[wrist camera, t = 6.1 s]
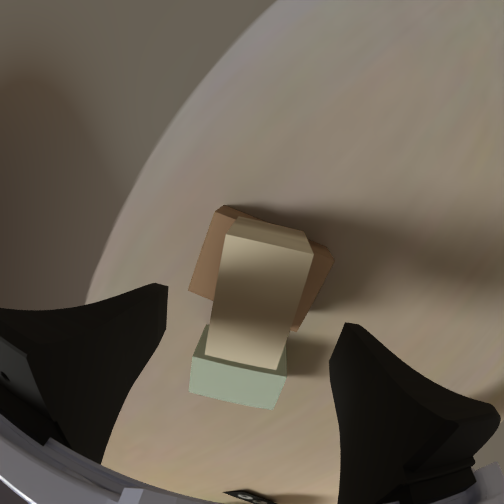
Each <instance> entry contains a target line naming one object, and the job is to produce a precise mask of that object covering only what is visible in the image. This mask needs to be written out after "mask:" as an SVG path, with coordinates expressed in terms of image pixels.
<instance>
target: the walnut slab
mask: <svg viewBox="0 0 504 504" xmlns="http://www.w3.org/2000/svg"><path fill="white" fill-rule="evenodd" d="M238 216H240V217H244V218H249V219H253V220H258V221H262V222H265V221H263V220H260V219H258V218H255V217H253V216H250V215H248V214H245V213H243V212H240V211H238V210H235V209H233V208H230V207H228V206H225V205H223V206H222V207H220V208H219V209H218V210H216V211H215V213H214V215H213V218H212V221H211V224H210V226H209V229H208V232H207V235H206V238H205V241H204V244H203V246H202V249H201V252H200V255H199V258H198V261H197V264H196V267H195V270H194V273H193V276H192V279H191V282H190V285H189V288H188V291H191V292H193V293H195V294H198V295H200V296H203V297H205V298H207V299H210V300H212V301H214V295H215V290H216V284H217V279H218V273H219V268H220V262H221V257H222V251H223V246H224V241H225V236H226V233H227V232H228V230H229V229H230V228H231V226H232V225H233V223H234V222H235V221H236V219H237V218H238ZM266 223H268V222H266ZM307 240H308V242H309V244H310V247H311V249H312V251H313V253H314V256H313V259H312V263H311V266H310V269H309V273H308V276H307V279H306V283H305V286H304V289H303V292H302V295H301V299H300V302H299V305H298V308H297V311H296V314H295V317H294V320H293V323H292V326H291V329H290V330H291V331H294V332H297V331H298V329H299V327H300V325H301V323H302V322H303V320H304V318H305V316H306V315H307V313H308V311H309V309H310V307H311V305H312V304H313V302H314V300H315V298H316V296H317V294H318V292H319V290H320V289H321V287H322V285H323V283H324V281H325V279H326V277H327V275H328V273H329V271H330V269H331V267H332V265H333V263H334V261H335V260H334V259H333V257H332V255H331V253H330V252H329V250H328V249H327V247H325V246H323V245H320V244H318V243H316V242H313V241H311V240H309V239H307Z"/></svg>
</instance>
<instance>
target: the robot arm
mask: <svg viewBox="0 0 504 504" xmlns="http://www.w3.org/2000/svg"><path fill="white" fill-rule="evenodd" d="M167 300H168V286H165V285H161V284H157V283H152V284H148V285H145V286H143V287H140V288H137V289H134V290H132V291H129V292H126V293H124V294H121V295H118V296H115V297H112V298H109V299H105V300H102V301H99V302H96V303H92V304H88V305H83V306H78V307H73V308H64V309H56V310H42V311H41V310H39V311H33V310H30V311H28V310H14V309H4V308H0V480H1V481H2V482H3V483H5V484H6V485H7V486H8V487H9V488H10V489H12V490H13V491H14V492H15V493H16V494H18V495H19V496H20V497H22V498H23V499H24V500H26V501H27V502H28V503H29V504H222V503H217V502H212V501H207V500H202V499H198V498H193V497H189V496H185V495H182V494H178V493H174V492H171V491H167V490H164V489H161V488H158V487H155V486H152V485H149V484H146V483H143V482H140V481H138V480H135V479H132V478H130V477H127V476H125V475H122V474H120V473H118V472H115V471H113V470H111V469H108V468H106V467H104V466H102V465H101V462H102V459H103V455H104V452H105V449H106V446H107V443H108V440H109V438H110V435H111V432H112V429H113V427H114V424H115V422H116V420H117V417H118V415H119V412H120V410H121V408H122V406H123V403H124V401H125V399H126V397H127V395H128V393H129V391H130V389H131V387H132V386H133V384H134V382H135V381H136V379H137V378H138V376H139V375H140V373H141V372H142V370H143V368H144V367H145V365H146V364H147V362H148V361H149V359H150V358H151V356H152V355H153V353H154V352H155V350H156V348H157V347H158V345H159V343H160V341H161V339H162V336H163V334H164V332H165V330H166V320H167ZM329 370H330V383H331V388H332V393H333V398H334V403H335V408H336V413H337V418H338V423H339V431H340V449H341V466H340V485H339V496H338V504H504V475H503V473H502V471H501V469H500V466H499V464H498V462H496V461H495V462H493V463H491V464H488V465H486V466H484V467H482V468H479V469H478V470H476V471H475V469H474V468H471V466H473V465H474V464H475V460H474V458H473V455H474V454H475V453H476V452H477V451H478V450H479V449H480V448H481V447H482V446H483V445H484V444H485V443H486V442H487V441H488V440H489V439H490V438H491V436H492V435H493V434H494V433H495V431H496V430H497V428H498V426H499V424H500V421H501V418H500V415H499V414H498V412H497V411H496V409H495V407H494V406H493V405H491V404H489V403H485V402H481V401H478V400H474V399H471V398H468V397H465V396H462V395H460V394H457V393H455V392H453V391H450V390H448V389H446V388H444V387H442V386H440V385H438V384H436V383H434V382H433V381H431V380H429V379H427V378H426V377H424V376H423V375H421V374H420V373H418V372H417V371H415V370H414V369H412V368H411V367H410V366H408V365H407V364H406V363H404V362H403V361H402V360H401V359H399V358H398V357H397V356H396V355H394V354H393V353H392V352H391V351H390V350H388V349H387V348H386V347H385V346H384V345H383V344H382V343H381V342H379V341H378V340H377V339H376V338H375V337H374V336H373V335H372V334H370V333H369V332H368V331H367V330H366V329H364V328H363V327H362V326H360V325H359V324H353V323H346V322H345V324H344V327H343V329H342V332H341V334H340V337H339V339H338V341H337V344H336V346H335V349H334V351H333V353H332V356H331V358H330V360H329Z"/></svg>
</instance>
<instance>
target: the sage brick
mask: <svg viewBox="0 0 504 504" xmlns="http://www.w3.org/2000/svg"><path fill="white" fill-rule="evenodd" d="M208 331H209V325H207V324H206V326H205V328H204V331H203V333H202V335H201V338H200V340H199V342H198V345H197V347H196V349H195V352H194V354H193V357H192V366H191V375H190V384H189V392H191V393H195V394H199V395H202V396H206V397H210V398H214V399H219V400H223V401H227V402H232V403H237V404H242V405H247V406H252V407H257V408H263V409H269V410H273V409H274V406H275V404H276V402H277V400H278V397H279V395H280V392H281V390H282V388H283V385H284V383H285V380H286V378H287V359H286V343H285V346H284V349H283V352H282V355H281V358H280V360H279V363H278V366H277V369H276V370H273V369H268V368H262V367H257V366H252V365H248V364H243V363H238V362H234V361H229V360H225V359H221V358H217V357H213V356H209V355H205V349H206V343H207V337H208Z"/></svg>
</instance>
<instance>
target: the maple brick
mask: <svg viewBox="0 0 504 504" xmlns="http://www.w3.org/2000/svg"><path fill="white" fill-rule="evenodd" d="M313 256H314V253H313V251H312V249H311V247H310V244H309V242H308V240H307V238H306V235H305V233H304V231H300V230H296V229H292V228H288V227H284V226H279V225H275V224H271V223H266V222H262V221H258V220H253V219H249V218H244V217H240V216H238V218H237V219H236V221H235V222H234V223H233V225H232V226H231V228H230V229H229V230H228V232H227V233H226V236H225V241H224V246H223V251H222V257H221V262H220V268H219V273H218V279H217V284H216V290H215V295H214V301H213V307H212V313H211V319H210V325H209V331H208V337H207V343H206V349H205V355H209V356H213V357H217V358H221V359H225V360H229V361H234V362H238V363H243V364H248V365H252V366H257V367H262V368H268V369H273V370H276V369H277V366H278V363H279V360H280V358H281V355H282V352H283V349H284V346H285V343H286V341H287V338H288V335H289V332H290V329H291V326H292V323H293V320H294V317H295V314H296V311H297V308H298V305H299V302H300V299H301V295H302V292H303V289H304V286H305V283H306V279H307V276H308V273H309V269H310V266H311V263H312V259H313Z"/></svg>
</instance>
